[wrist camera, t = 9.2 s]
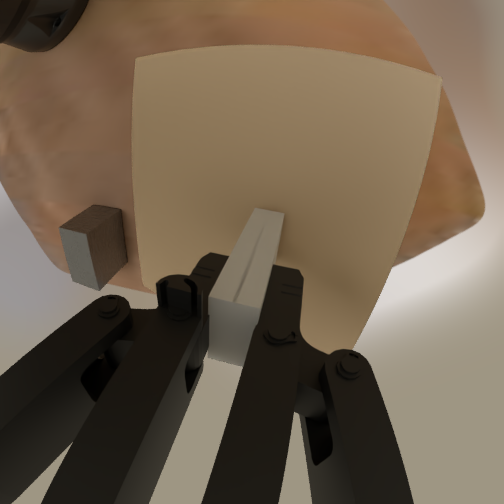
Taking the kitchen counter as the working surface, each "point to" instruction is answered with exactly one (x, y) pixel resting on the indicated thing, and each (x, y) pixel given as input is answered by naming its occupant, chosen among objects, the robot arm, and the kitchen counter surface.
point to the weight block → (94, 245)
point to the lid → (282, 167)
